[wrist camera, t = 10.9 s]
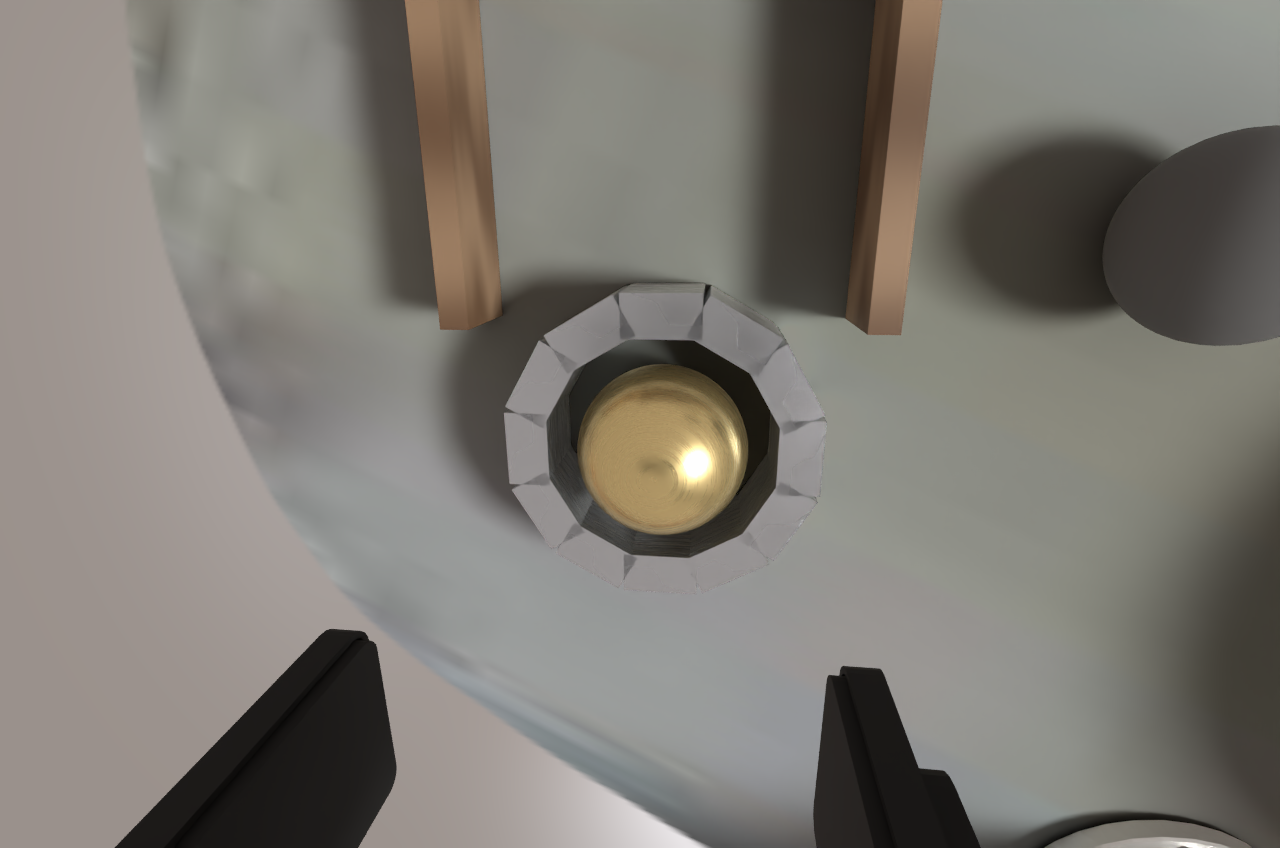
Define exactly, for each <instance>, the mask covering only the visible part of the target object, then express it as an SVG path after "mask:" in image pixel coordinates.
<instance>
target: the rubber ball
mask: <svg viewBox="0 0 1280 848" xmlns="http://www.w3.org/2000/svg"><path fill="white" fill-rule="evenodd" d="M1103 269H1104V275H1105V278H1106V282H1107V285H1108V287H1109V289H1110V292H1111V294H1112V296H1113V297H1114V299H1115V300H1116V301H1117V303H1118V304H1119V305H1120V307H1121V308H1122V309H1123V310H1124V311H1125V312H1126V313H1127V314H1128V315H1129V316H1130V317H1131V318H1133V319H1134V320H1135V321H1137V322H1138V323H1139V324H1141V325H1142V326H1144V327H1145V328H1147V329H1149V330H1151V331H1153V332H1155V333H1157V334H1160V335H1163V336H1166V337H1168V338H1171V339H1174V340H1177V341H1182V342H1187V343H1193V344H1199V345H1212V346H1225V345H1242V344H1248V343H1254V342H1260V341H1266V340H1269V339H1273V338H1277V337H1280V126H1265V127H1254V128H1246V129H1241V130H1237V131H1232V132H1228V133H1224V134H1221V135H1218V136H1215V137H1212V138H1209V139H1206V140H1203V141H1201V142H1199V143H1197V144H1194V145H1192V146H1190V147H1188V148H1186V149H1184V150H1181V151H1180V152H1178V153H1176V154H1175V155H1173V156H1171V157H1169V158H1168V159H1166V160H1165V161H1164V162H1162V163H1161V164H1159V165H1158V166H1157V167H1155V168H1154V169H1153V170H1151V171H1150V172H1149V173H1148V174H1147V175H1145V176H1144V177H1143V178H1142V179H1141V180H1140V181H1139V182H1138V183H1137V184H1136V185H1135V186H1134V187H1133V188H1132V190H1131V191H1130V192H1129V193H1128V194H1127V196H1126V197H1125V198H1124V200H1123V201H1122V203H1121V204H1120V205H1119V207H1118V208H1117V210H1116V212H1115V214H1114V216H1113V217H1112V219H1111V222H1110V224H1109V227H1108V229H1107V233H1106V236H1105V240H1104V246H1103Z"/></svg>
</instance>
